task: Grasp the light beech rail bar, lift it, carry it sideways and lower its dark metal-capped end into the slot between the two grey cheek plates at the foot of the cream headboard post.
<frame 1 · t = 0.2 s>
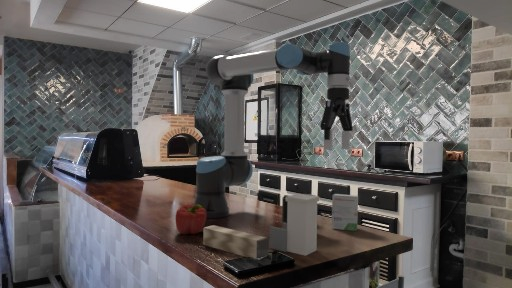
hand: (337, 149, 126), 28 cm above the counter, fingers open, 13 cm apart
vegetable: (191, 234, 118), on the counter
rail: (233, 250, 101), on the counter
headboard post: (301, 250, 101), on the counter
ink box: (344, 229, 128), on the counter
mug: (296, 222, 136), on the counter
plastic cup: (301, 232, 122), on the counter
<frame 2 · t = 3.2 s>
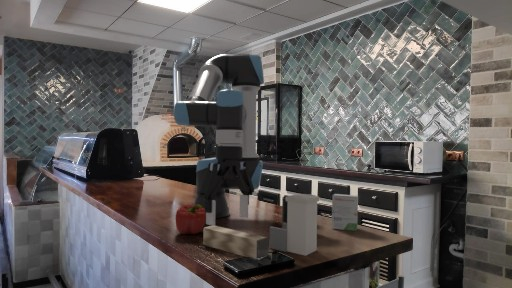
hand: (228, 220, 102), 8 cm above the counter, fingers open, 13 cm apart
nothing on the counter moved.
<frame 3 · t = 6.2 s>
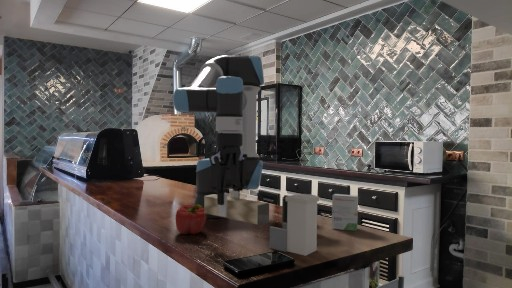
hand: (228, 214, 103), 10 cm above the counter, fingers closed on rail, 4 cm apart
rail: (234, 217, 102), point 9 cm above the counter, touching gripper
everything else where it was.
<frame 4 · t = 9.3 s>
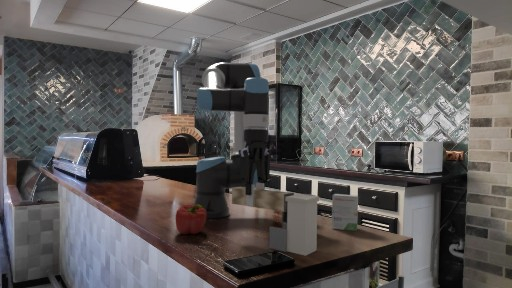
hand: (255, 204, 112), 11 cm above the counter, fingers closed on rail, 4 cm apart
rail: (260, 206, 110), point 11 cm above the counter, touching gripper
everything else where it was.
when the fingers open (0 cm above the counter, at t = 12.9 s): rail stays where it is, on the counter.
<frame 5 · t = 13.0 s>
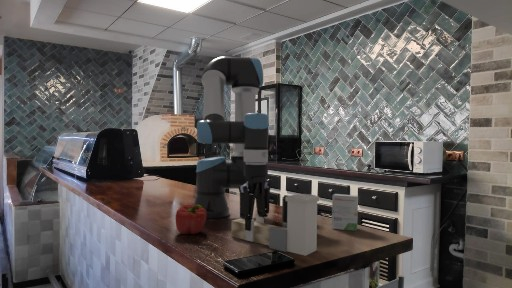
hand: (254, 238, 112), 0 cm above the counter, fingers open, 4 cm apart
rail: (259, 240, 111), on the counter
everything else where it was.
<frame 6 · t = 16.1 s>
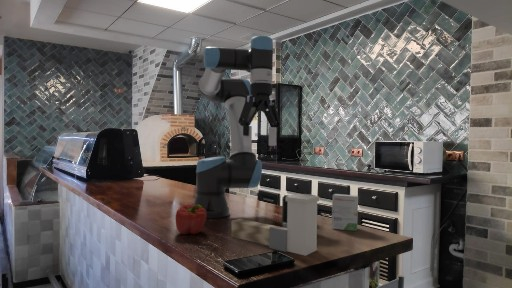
hand: (260, 146, 123), 29 cm above the counter, fingers open, 13 cm apart
nothing on the counter moved.
at the end: rail 0.5 cm from the target spot on the counter beside the headboard post, on the counter; rail tilted 0°; the gripper is holding nothing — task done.
